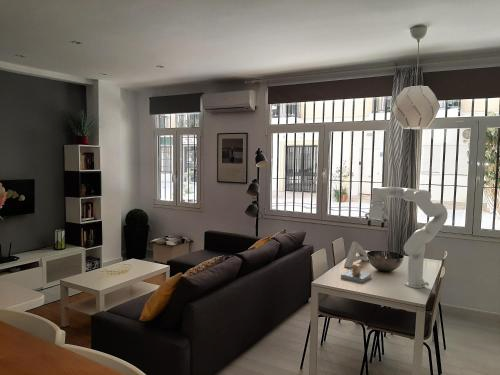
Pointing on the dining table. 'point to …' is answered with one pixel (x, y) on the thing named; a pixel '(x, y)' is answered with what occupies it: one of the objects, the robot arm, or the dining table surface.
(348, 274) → the rosette plate
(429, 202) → the robot arm
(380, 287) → the dining table surface
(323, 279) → the dining table surface
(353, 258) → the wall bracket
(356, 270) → the locking peg
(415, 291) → the dining table surface
